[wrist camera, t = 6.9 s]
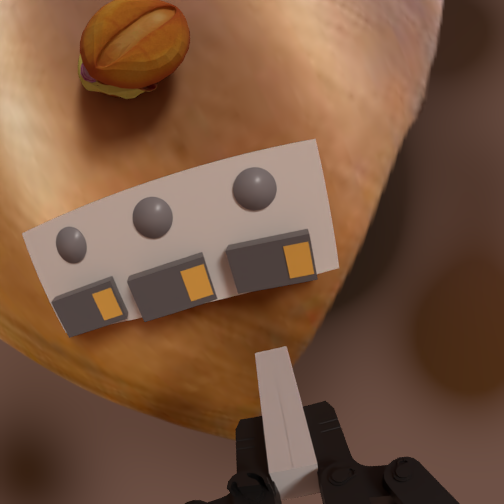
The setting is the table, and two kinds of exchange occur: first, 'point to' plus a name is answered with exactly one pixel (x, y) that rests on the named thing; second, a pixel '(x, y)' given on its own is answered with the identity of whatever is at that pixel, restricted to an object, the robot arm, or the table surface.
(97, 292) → the rocker left
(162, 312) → the rocker middle
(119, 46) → the cheeseburger
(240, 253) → the rocker right
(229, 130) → the table surface
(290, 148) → the rocker switch panel
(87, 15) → the table surface
